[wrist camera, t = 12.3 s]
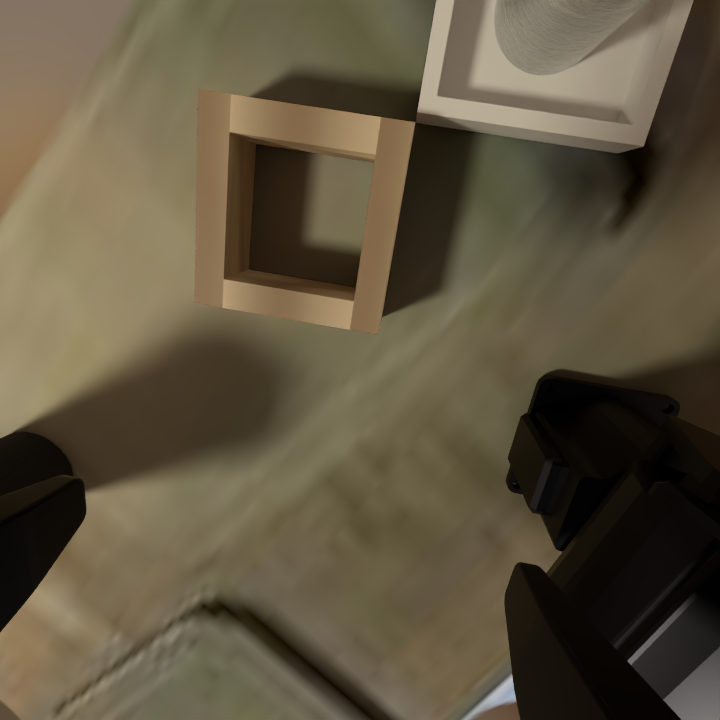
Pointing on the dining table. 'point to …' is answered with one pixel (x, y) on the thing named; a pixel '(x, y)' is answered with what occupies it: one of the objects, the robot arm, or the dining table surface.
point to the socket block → (235, 202)
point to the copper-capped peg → (556, 30)
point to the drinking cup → (29, 461)
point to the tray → (550, 80)
